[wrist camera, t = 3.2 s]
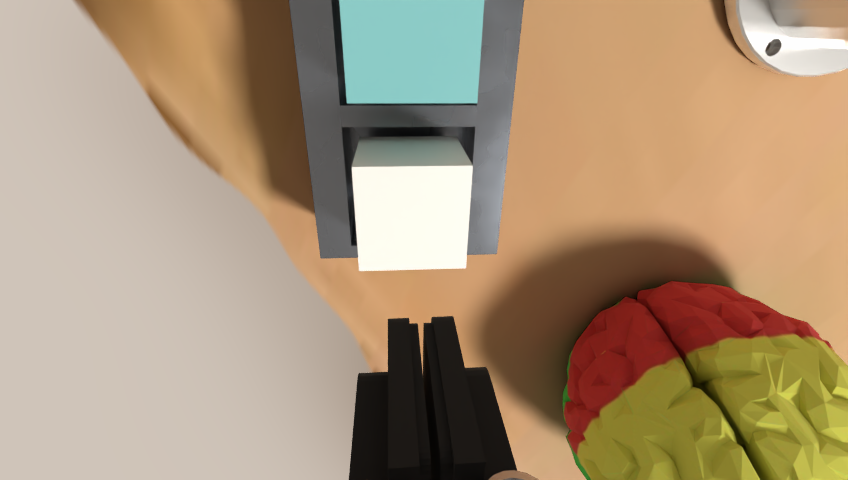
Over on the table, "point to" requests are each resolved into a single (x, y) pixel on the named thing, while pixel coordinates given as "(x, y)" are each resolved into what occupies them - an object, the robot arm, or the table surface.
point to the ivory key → (411, 202)
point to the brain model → (705, 391)
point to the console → (402, 122)
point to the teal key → (411, 50)
